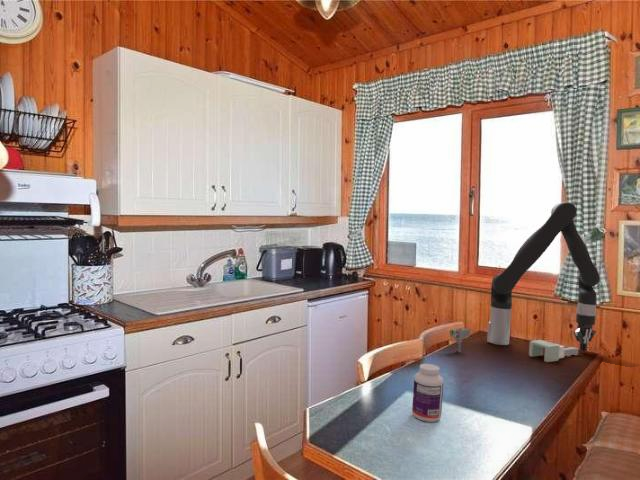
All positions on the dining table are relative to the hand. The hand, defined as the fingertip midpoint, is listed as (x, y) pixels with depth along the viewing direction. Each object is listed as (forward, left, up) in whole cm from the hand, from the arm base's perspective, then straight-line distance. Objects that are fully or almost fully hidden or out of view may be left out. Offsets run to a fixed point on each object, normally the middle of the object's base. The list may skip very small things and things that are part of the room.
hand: (583, 350), depth 201 cm
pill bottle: (-31, -114, -1) cm, 118 cm away
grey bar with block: (-7, -12, -1) cm, 14 cm away
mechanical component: (-44, -41, -1) cm, 60 cm away
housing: (-13, -23, -1) cm, 27 cm away
